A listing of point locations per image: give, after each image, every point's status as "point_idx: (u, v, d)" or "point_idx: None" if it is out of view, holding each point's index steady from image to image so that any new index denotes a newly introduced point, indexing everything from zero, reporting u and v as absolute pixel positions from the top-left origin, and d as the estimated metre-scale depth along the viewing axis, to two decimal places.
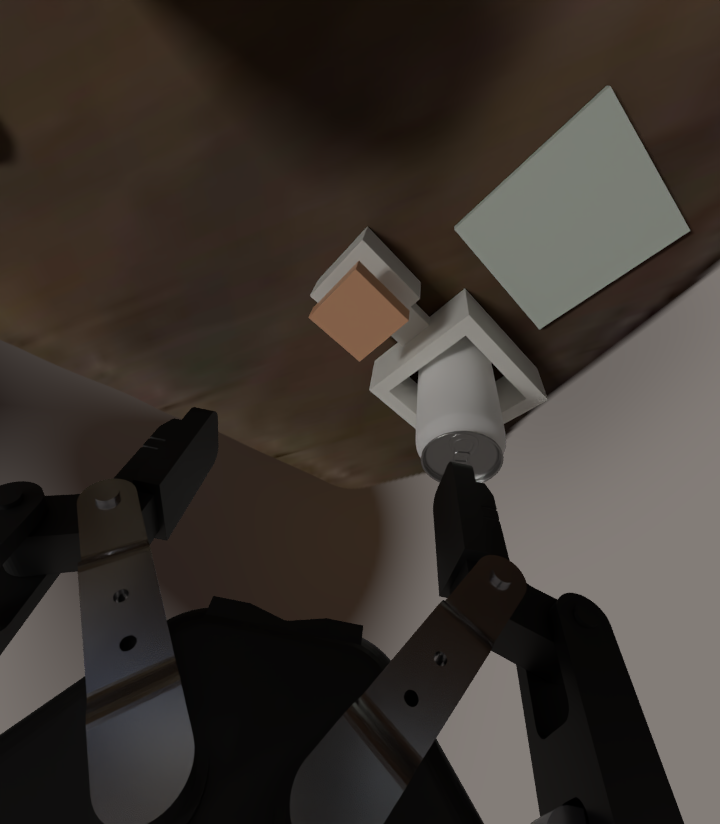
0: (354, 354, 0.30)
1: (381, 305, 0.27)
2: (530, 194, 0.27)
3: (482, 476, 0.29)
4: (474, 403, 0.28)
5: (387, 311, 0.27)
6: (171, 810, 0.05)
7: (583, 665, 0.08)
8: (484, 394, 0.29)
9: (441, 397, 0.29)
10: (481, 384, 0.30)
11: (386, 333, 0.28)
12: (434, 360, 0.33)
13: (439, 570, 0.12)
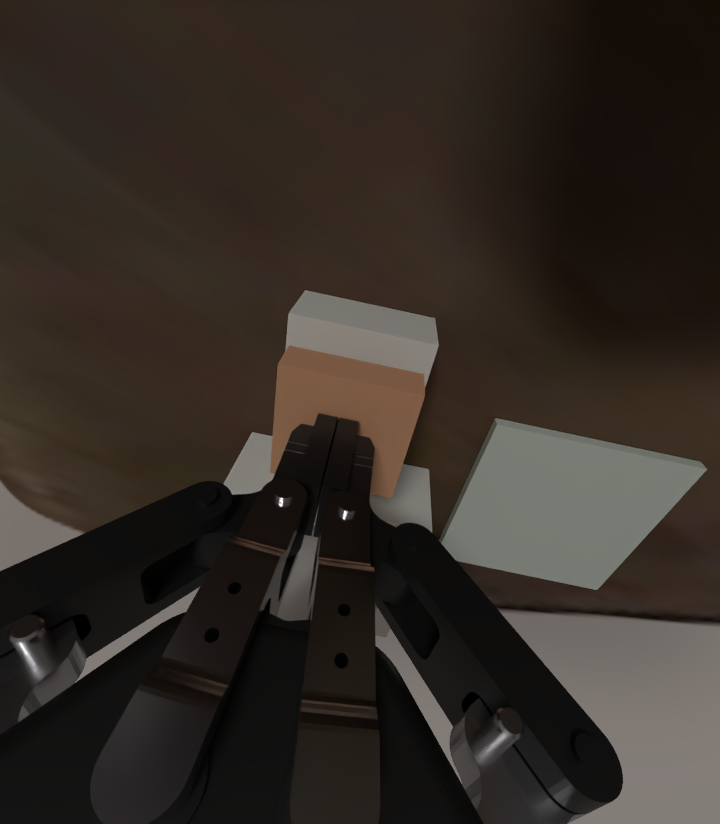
0: (275, 461, 0.16)
1: (389, 456, 0.15)
2: (574, 470, 0.21)
3: None
4: None
5: (385, 468, 0.15)
6: None
7: (433, 585, 0.09)
8: None
9: None
10: None
11: None
12: None
13: None
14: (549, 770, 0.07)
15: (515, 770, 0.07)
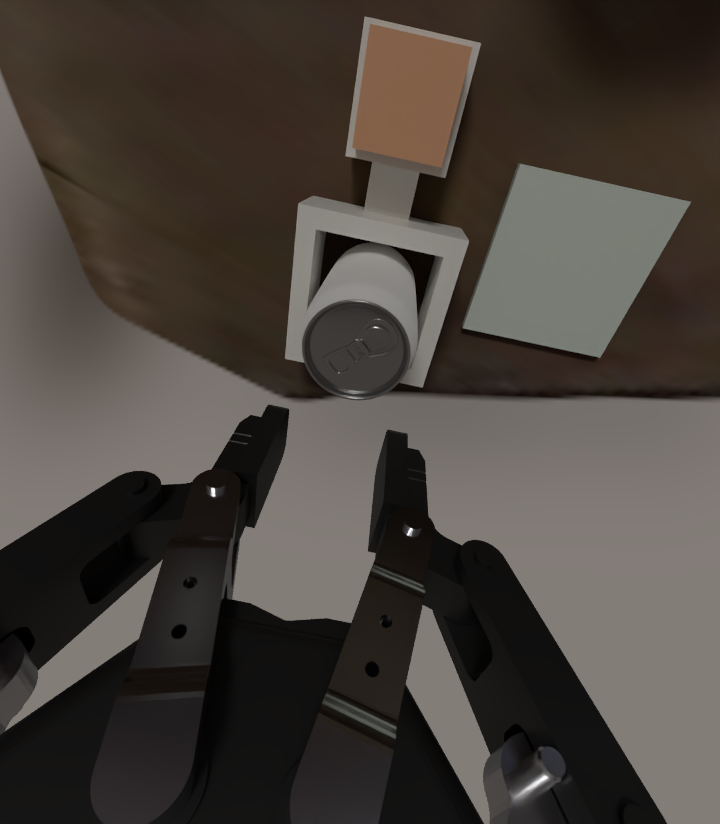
0: (357, 133, 0.21)
1: (442, 118, 0.21)
2: (582, 211, 0.26)
3: (346, 392, 0.22)
4: (414, 313, 0.22)
5: (439, 132, 0.21)
6: None
7: (494, 605, 0.09)
8: None
9: (388, 278, 0.22)
10: None
11: (410, 153, 0.22)
12: (383, 253, 0.26)
13: (370, 528, 0.13)
14: None
15: (549, 817, 0.07)
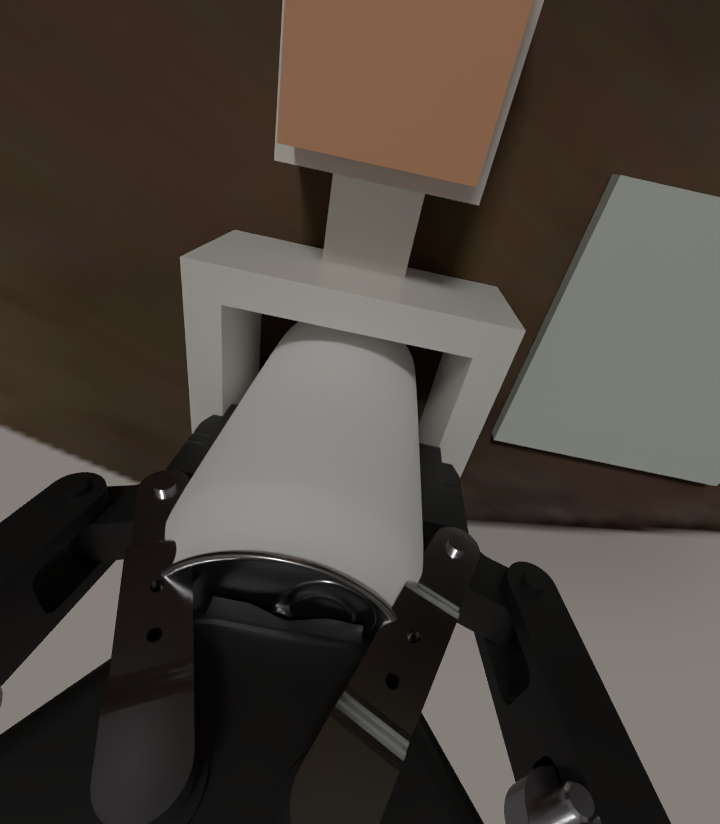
0: (286, 109, 0.09)
1: (484, 73, 0.09)
2: None
3: None
4: (416, 516, 0.10)
5: (474, 107, 0.09)
6: (161, 819, 0.05)
7: (537, 630, 0.09)
8: (421, 500, 0.11)
9: (359, 437, 0.10)
10: None
11: (408, 155, 0.10)
12: (359, 341, 0.14)
13: None
14: None
15: None
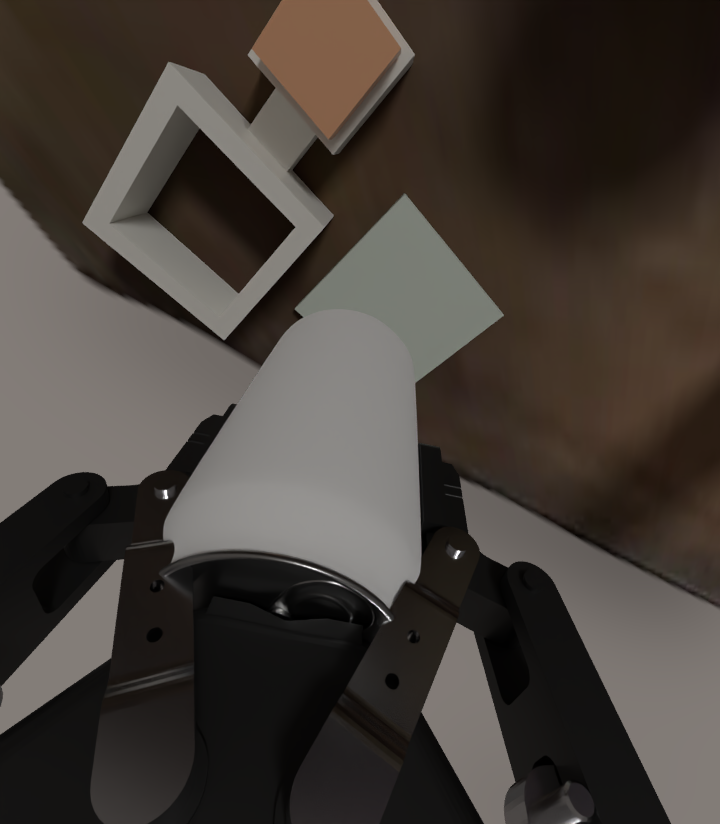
0: (263, 38, 0.19)
1: (348, 93, 0.20)
2: (431, 270, 0.28)
3: None
4: (414, 516, 0.10)
5: (340, 103, 0.20)
6: (161, 819, 0.05)
7: (537, 630, 0.09)
8: None
9: (357, 436, 0.10)
10: (418, 470, 0.12)
11: (306, 102, 0.20)
12: (358, 341, 0.14)
13: None
14: None
15: None
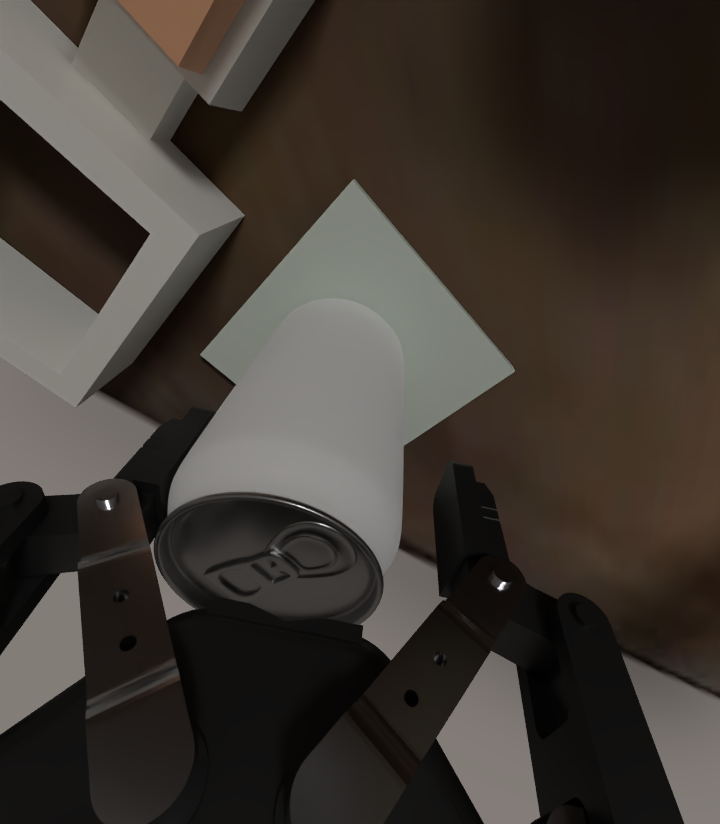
0: None
1: None
2: (402, 303, 0.18)
3: None
4: (395, 475, 0.11)
5: None
6: (171, 810, 0.05)
7: (583, 665, 0.08)
8: (402, 465, 0.13)
9: (344, 404, 0.11)
10: (402, 441, 0.13)
11: None
12: (348, 326, 0.15)
13: (439, 570, 0.12)
14: None
15: None
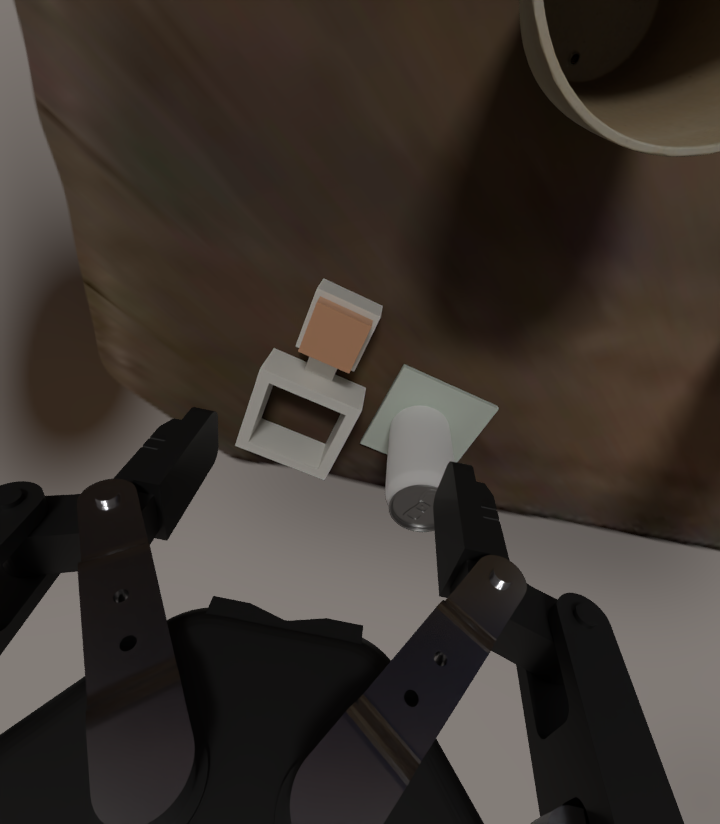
0: (302, 345, 0.36)
1: (352, 352, 0.35)
2: (438, 399, 0.42)
3: (423, 527, 0.36)
4: None
5: (349, 357, 0.36)
6: (171, 810, 0.05)
7: (583, 665, 0.08)
8: None
9: (427, 454, 0.35)
10: (452, 458, 0.37)
11: (332, 362, 0.36)
12: (419, 420, 0.39)
13: (439, 570, 0.12)
14: None
15: None
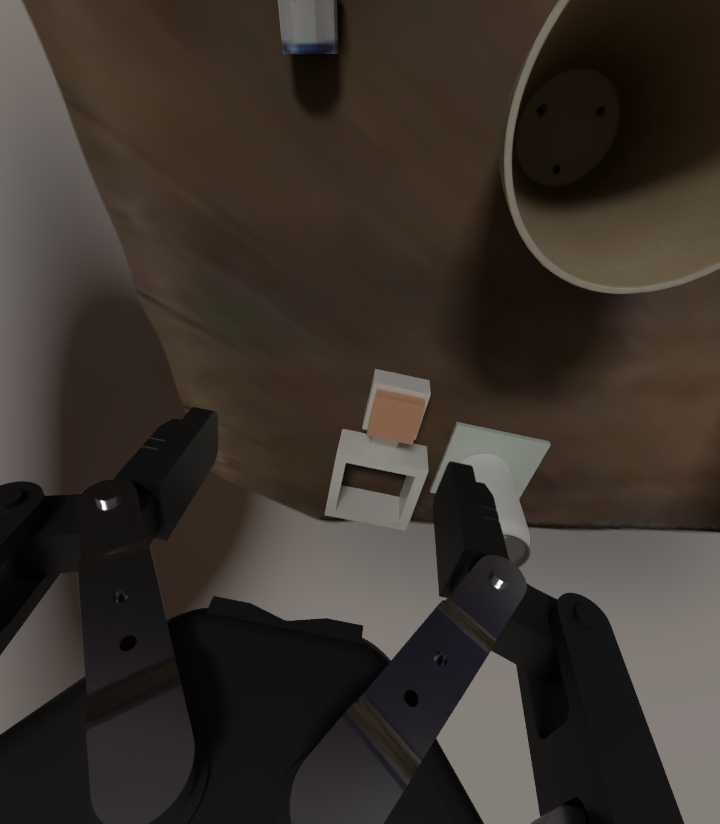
0: (369, 430, 0.42)
1: (412, 428, 0.41)
2: (493, 445, 0.47)
3: None
4: (517, 516, 0.39)
5: (410, 432, 0.42)
6: (171, 810, 0.05)
7: (583, 665, 0.08)
8: (520, 509, 0.41)
9: None
10: (517, 501, 0.42)
11: (396, 438, 0.42)
12: (481, 470, 0.45)
13: (439, 570, 0.12)
14: None
15: None
